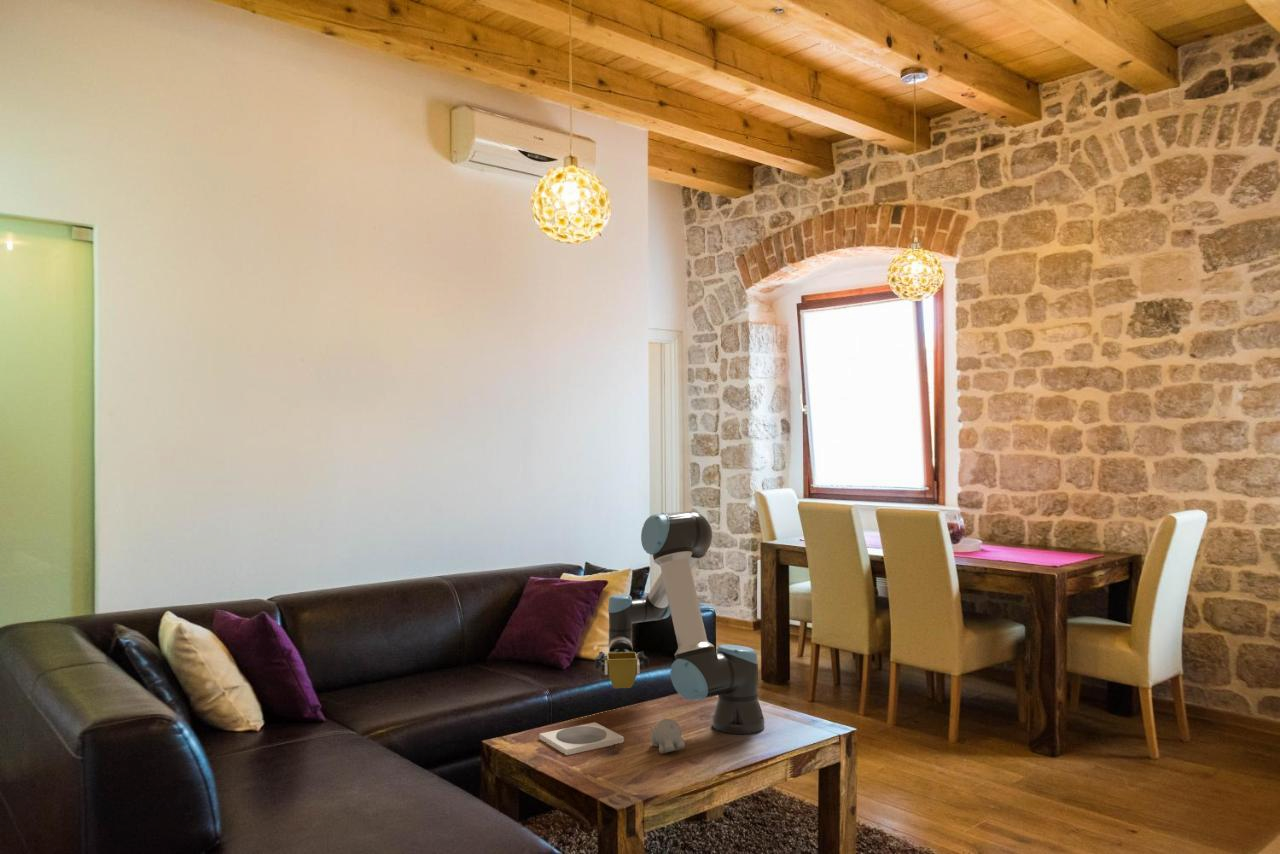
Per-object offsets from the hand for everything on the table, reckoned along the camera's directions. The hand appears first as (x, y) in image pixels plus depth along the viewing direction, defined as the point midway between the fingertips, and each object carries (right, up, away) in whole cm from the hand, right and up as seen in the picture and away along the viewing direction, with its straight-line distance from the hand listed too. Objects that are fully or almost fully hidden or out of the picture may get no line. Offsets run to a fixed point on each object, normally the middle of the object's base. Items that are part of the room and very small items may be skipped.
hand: (622, 669), depth 256 cm
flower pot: (0, -6, +5) cm, 8 cm away
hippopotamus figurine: (+12, -18, -15) cm, 26 cm away
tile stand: (-11, -18, -7) cm, 22 cm away
